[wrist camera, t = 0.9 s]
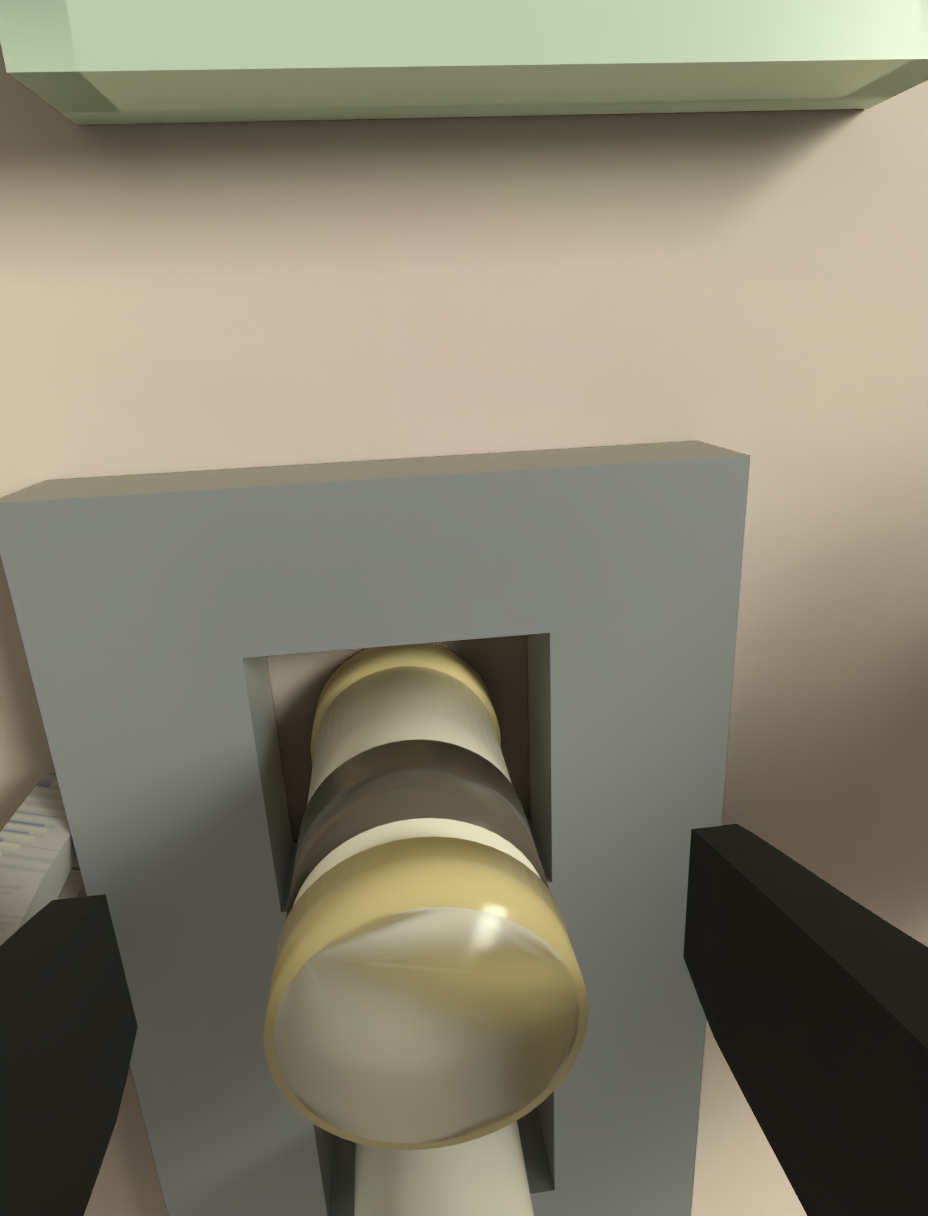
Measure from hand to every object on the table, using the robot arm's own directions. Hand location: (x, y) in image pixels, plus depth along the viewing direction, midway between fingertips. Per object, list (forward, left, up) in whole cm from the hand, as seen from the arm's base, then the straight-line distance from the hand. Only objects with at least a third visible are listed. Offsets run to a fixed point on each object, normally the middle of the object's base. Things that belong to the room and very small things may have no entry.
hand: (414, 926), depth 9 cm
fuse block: (0, +4, -5) cm, 7 cm away
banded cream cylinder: (0, 0, -5) cm, 5 cm away
